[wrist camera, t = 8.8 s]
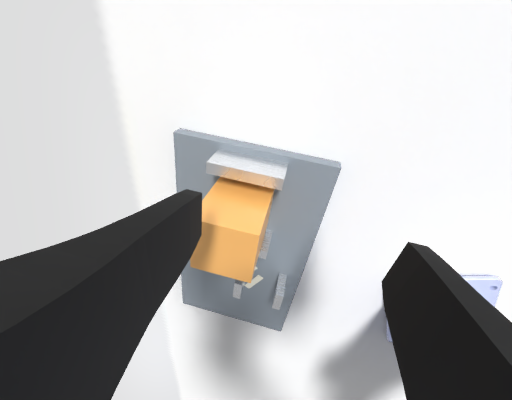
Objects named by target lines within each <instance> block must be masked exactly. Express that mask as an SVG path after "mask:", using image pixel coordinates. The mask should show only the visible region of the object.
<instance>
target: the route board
mask: <svg viewBox="0 0 512 400" xmlns="http://www.w3.org/2000/svg"><path fill="white" fill-rule="evenodd" d="M219 148H221V149H226V150H230V151H235V152H239V153H244V154H249V155H253V156H258V157H262V158H267V159H272V160H276V161H281V162H285V163H288V167H287V171H286V175H285V179H284V183H283V187H282V191H281V190H277V189H275V190H274V195H273V200H272V205H271V210H270V215H269V220H268V225H267V228H266V230H270V231H273V232H272V236H271V240H270V244H269V248H268V252H267V257H266V259H262V258H258V260H257V263H256V267H255V270H254V274H253V277H252V281H251V283H248V282H245V284H244V287H243V290H242V294H241V297H240V299H238V298H235V297H233V290H234V283H235V280H236V279H233V278H229V277H225V276H222V275H218V274H214V273H211V272H207V271H203V270H199V269H196V268H192V267H190V260H189V262H188V263H187V265H186V266H185V268H184V269H183V271H182V273H181V276H182V294H183V303H185V304H188V305H192V306H195V307H198V308H202V309H205V310H209V311H212V312H216V313H219V314H222V315H226V316H229V317H233V318H236V319H240V320H243V321H247V322H250V323H253V324H257V325H260V326H264V327H267V328H271V329H274V330H277V331H281V330H282V327H283V324H284V322H285V319H286V316H287V314H288V311H289V308H290V305H291V303H292V300H293V297H294V295H295V292H296V289H297V286H298V284H299V281H300V278H301V276H302V273H303V270H304V268H305V265H306V262H307V259H308V257H309V254H310V251H311V249H312V246H313V243H314V241H315V238H316V235H317V232H318V230H319V227H320V224H321V222H322V219H323V216H324V213H325V211H326V208H327V205H328V203H329V200H330V197H331V195H332V192H333V189H334V186H335V184H336V181H337V178H338V176H339V173H340V170H341V164H340V162H336V161H332V160H327V159H322V158H317V157H313V156H308V155H303V154H299V153H294V152H289V151H285V150H280V149H275V148H270V147H266V146H261V145H256V144H252V143H247V142H242V141H237V140H233V139H228V138H223V137H219V136H214V135H209V134H204V133H200V132H195V131H190V130H186V129H181V128H180V129H178V130H176V131H175V132H174V149H175V167H176V185H177V193H178V192H181V191H183V190H185V189H189V190H193V191H197V192H201V193H202V200H203V199H204V198H205V196H206V195H207V194H208V192H209V191H210V190H211V188H212V187H213V186H214V184H215V183H216V182H217V180H218V179H219V178H220V176H216V175H212V174H207V173H206V162H207V161H208V160H209V159H210V158H211V157H212V156H213V155H214V154H215V152H216V151H217V150H218V149H219ZM279 273H281V274H285V275H287V277H286V284H285V291H284V297H283V300H282V303H281V306H280V310H277V309H274V308H272V304H273V298H274V292H275V287H276V283H277V280H278V276H279Z"/></svg>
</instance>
